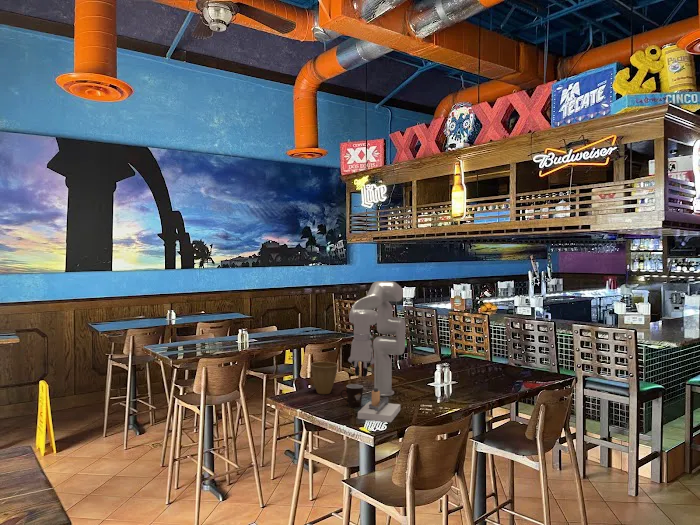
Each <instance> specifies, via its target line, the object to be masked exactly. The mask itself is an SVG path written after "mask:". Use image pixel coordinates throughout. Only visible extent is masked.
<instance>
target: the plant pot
mask: <svg viewBox="0 0 700 525" xmlns="http://www.w3.org/2000/svg"><path fill="white" fill-rule="evenodd" d="M310 366H311V367H310V368H311V375H312V379H313V385H314V388H315V390H316V394H318V395H329V394H331V393H332V389H333V387H334V383H335V380H336V377H337V372H338V367H339V364H338V363H336V362H331V361H314V362H311V364H310Z"/></svg>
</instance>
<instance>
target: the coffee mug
mask: <svg viewBox="0 0 700 525" xmlns="http://www.w3.org/2000/svg"><path fill="white" fill-rule="evenodd" d="M343 392H346V395H347V396H346V397H347V398H345V397H344V396H343V395H342V394H343ZM363 392H364V385H362V384H357V383H355V384H353V383H351V384H347V385H346V389H343V390H341V391H340V395H339V396H340V398H342V399H343V400H345V401H347V407H349V408H353V409H354V408H355V409H357V408H361V407H362V400H363Z"/></svg>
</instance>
